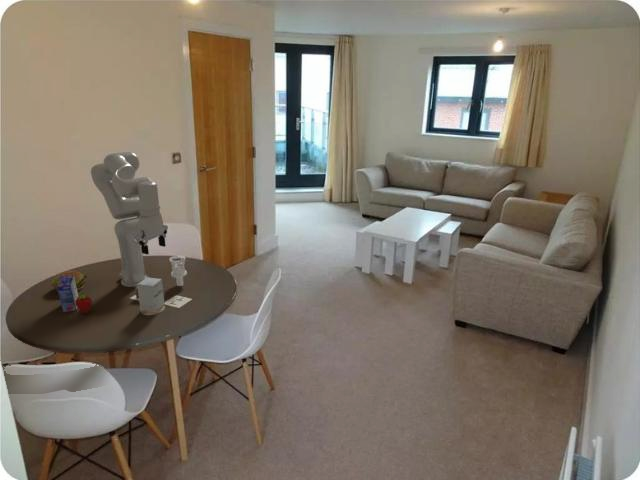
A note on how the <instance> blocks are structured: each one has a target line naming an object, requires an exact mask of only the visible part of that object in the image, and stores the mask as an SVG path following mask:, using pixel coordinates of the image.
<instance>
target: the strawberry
mask: <svg viewBox="0 0 640 480" xmlns="http://www.w3.org/2000/svg"><path fill="white" fill-rule="evenodd" d="M79 293H80V294H82V295H78V297H75V298H77V300H76V306H77V310H79V311H80V312H83V313H84V314H88V312H89V310H90V309H91V306H92V299H91V297H90V296H89V294H85V293H81V292H79ZM79 293H78V294H79Z"/></svg>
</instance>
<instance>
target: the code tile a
mask: <svg viewBox="0 0 640 480" xmlns="http://www.w3.org/2000/svg"><path fill="white" fill-rule="evenodd" d="M191 301H193V298H189V297H185V296H181V295H178V294H177V295H174V296H172V297H171V298H170V299H168V300H166V301H164V304H165V305H164V306H170V307H174V308H178V309H181V308H182V307H183V306H185V305H187V304H188V303H189V302H191Z"/></svg>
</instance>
